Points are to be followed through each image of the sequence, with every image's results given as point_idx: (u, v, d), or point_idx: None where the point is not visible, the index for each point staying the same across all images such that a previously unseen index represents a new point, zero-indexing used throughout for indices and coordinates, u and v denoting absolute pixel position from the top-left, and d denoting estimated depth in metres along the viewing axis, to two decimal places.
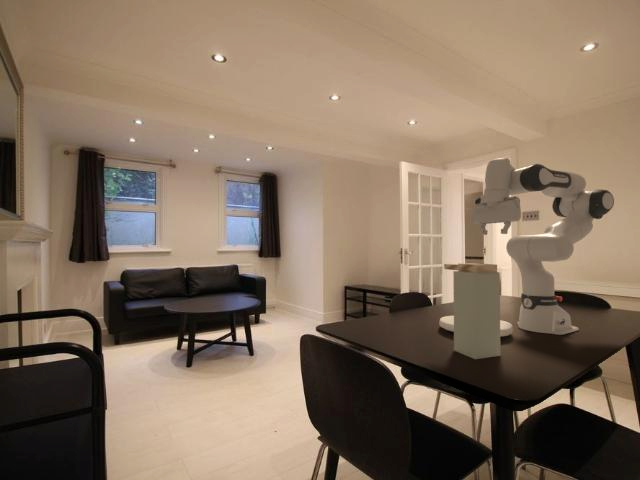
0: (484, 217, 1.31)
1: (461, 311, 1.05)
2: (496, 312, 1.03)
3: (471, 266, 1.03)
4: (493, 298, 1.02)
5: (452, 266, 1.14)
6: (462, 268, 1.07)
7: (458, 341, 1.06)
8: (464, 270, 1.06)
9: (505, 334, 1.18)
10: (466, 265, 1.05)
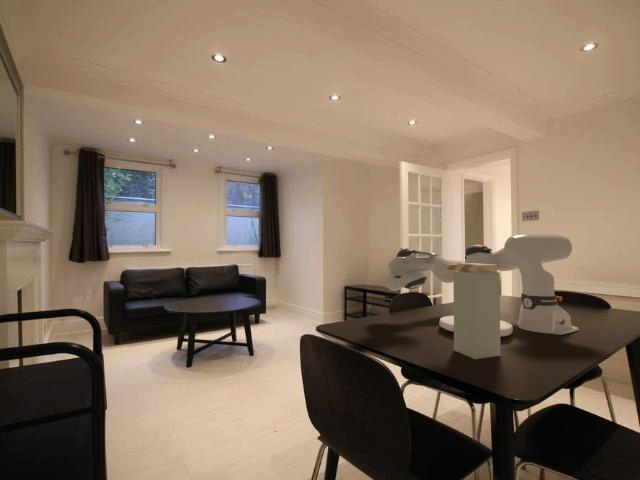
0: None
1: (461, 311, 1.05)
2: (496, 312, 1.03)
3: (471, 266, 1.03)
4: (493, 298, 1.02)
5: (452, 266, 1.14)
6: (462, 268, 1.07)
7: (458, 341, 1.06)
8: (464, 270, 1.06)
9: (505, 334, 1.18)
10: (466, 265, 1.05)
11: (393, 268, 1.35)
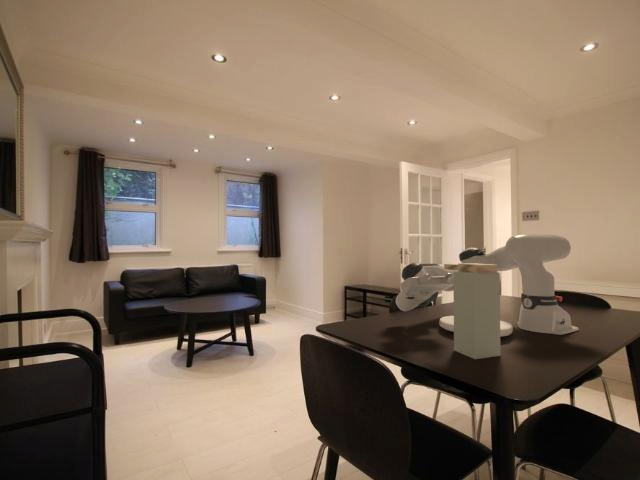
0: None
1: (461, 311, 1.05)
2: (496, 312, 1.03)
3: (471, 266, 1.03)
4: (493, 298, 1.02)
5: (452, 266, 1.14)
6: (462, 268, 1.07)
7: (458, 341, 1.06)
8: (464, 270, 1.06)
9: (505, 334, 1.18)
10: (466, 265, 1.05)
11: (406, 289, 1.25)
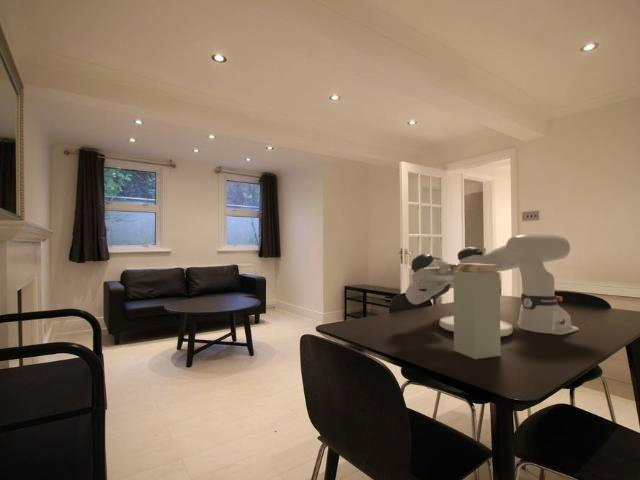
0: None
1: (461, 311, 1.05)
2: (496, 312, 1.03)
3: (471, 266, 1.03)
4: (493, 298, 1.02)
5: (452, 266, 1.14)
6: (462, 268, 1.07)
7: (458, 341, 1.06)
8: (464, 270, 1.06)
9: (505, 334, 1.18)
10: (466, 265, 1.05)
11: (418, 280, 1.19)
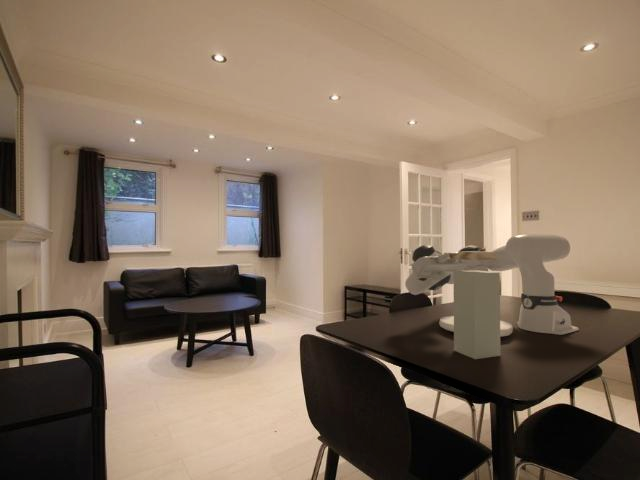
0: None
1: (461, 311, 1.05)
2: (496, 312, 1.03)
3: (470, 254, 1.03)
4: (493, 298, 1.02)
5: (452, 255, 1.15)
6: (461, 256, 1.07)
7: (458, 341, 1.06)
8: (463, 258, 1.06)
9: (505, 334, 1.18)
10: (465, 253, 1.05)
11: (418, 269, 1.19)
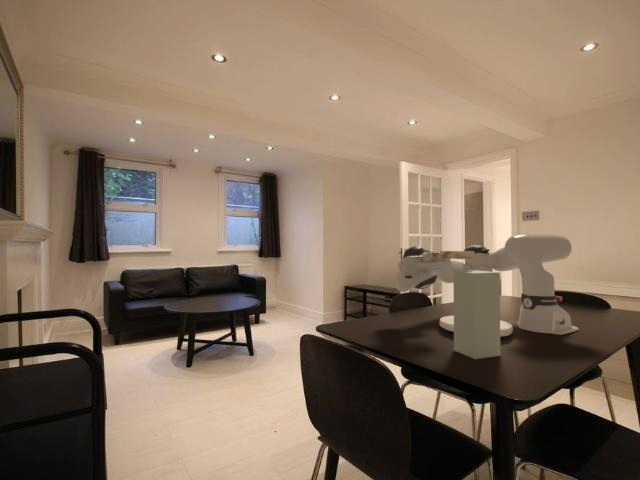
0: None
1: (461, 311, 1.05)
2: (496, 312, 1.03)
3: (450, 253, 1.12)
4: (493, 298, 1.02)
5: (435, 254, 1.23)
6: (443, 255, 1.15)
7: (458, 341, 1.06)
8: (444, 257, 1.15)
9: (505, 334, 1.18)
10: (446, 252, 1.14)
11: (404, 268, 1.27)
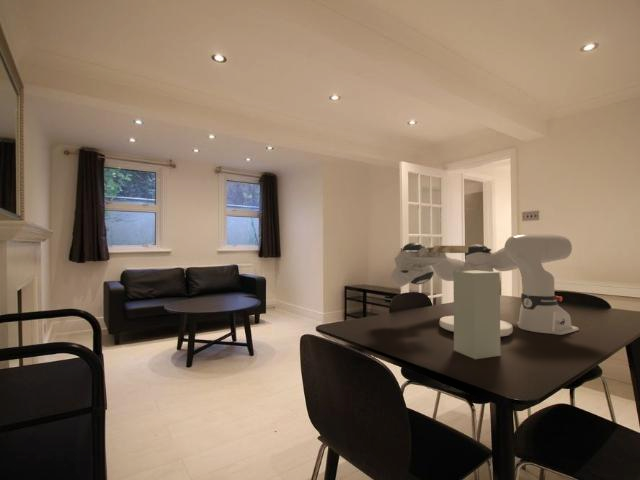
0: None
1: (461, 311, 1.05)
2: (496, 312, 1.03)
3: (445, 247, 1.15)
4: (493, 298, 1.02)
5: (430, 249, 1.26)
6: (437, 249, 1.18)
7: (458, 341, 1.06)
8: (439, 251, 1.17)
9: (505, 334, 1.18)
10: (441, 246, 1.17)
11: (400, 262, 1.30)
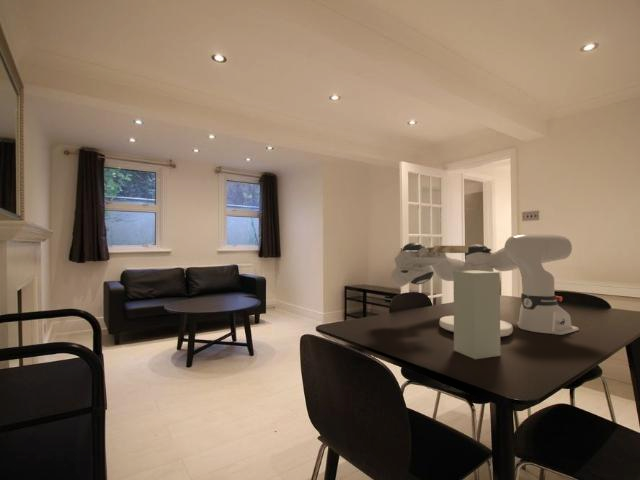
0: None
1: (461, 311, 1.05)
2: (496, 312, 1.03)
3: (445, 247, 1.15)
4: (493, 298, 1.02)
5: (430, 249, 1.26)
6: (437, 249, 1.18)
7: (458, 341, 1.06)
8: (439, 251, 1.17)
9: (505, 334, 1.18)
10: (441, 246, 1.17)
11: (400, 262, 1.30)
